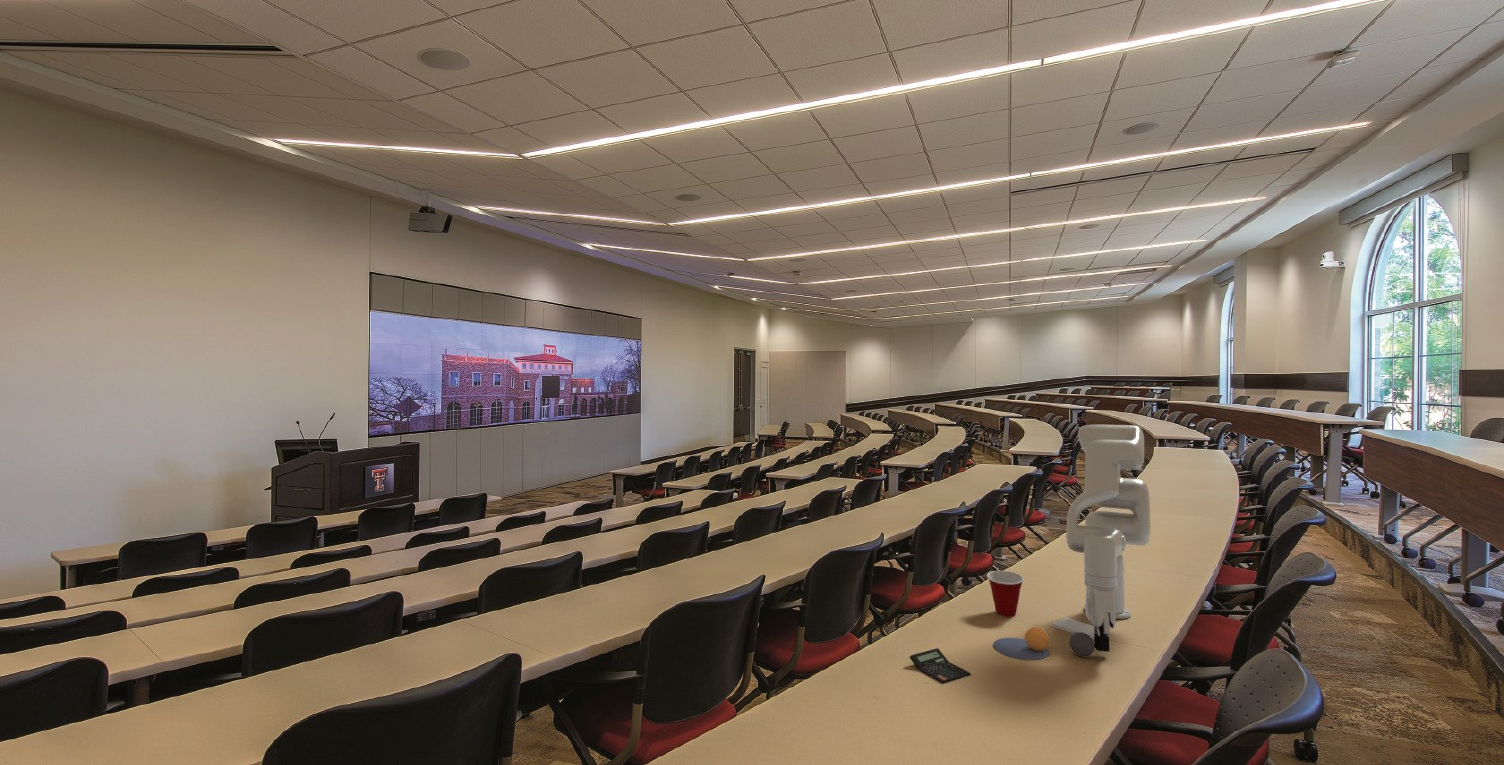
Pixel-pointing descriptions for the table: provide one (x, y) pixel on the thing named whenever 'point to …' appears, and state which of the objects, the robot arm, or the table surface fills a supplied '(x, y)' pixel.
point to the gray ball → (1081, 644)
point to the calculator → (938, 666)
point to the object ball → (1037, 639)
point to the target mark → (1018, 649)
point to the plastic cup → (1005, 591)
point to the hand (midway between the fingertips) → (1101, 650)
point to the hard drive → (1074, 626)
